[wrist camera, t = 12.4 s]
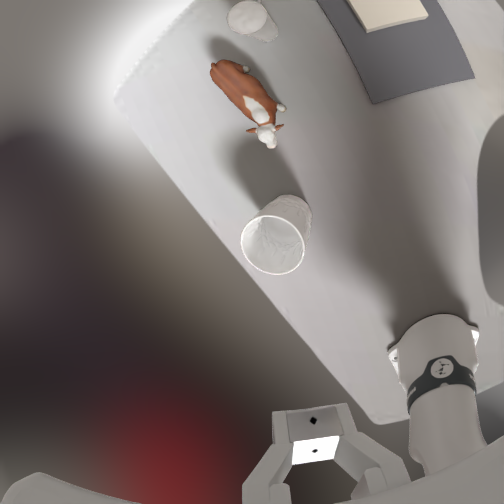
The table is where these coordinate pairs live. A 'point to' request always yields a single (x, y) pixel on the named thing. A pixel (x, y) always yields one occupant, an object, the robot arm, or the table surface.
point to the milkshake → (252, 21)
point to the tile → (387, 12)
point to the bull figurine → (248, 98)
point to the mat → (401, 51)
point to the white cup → (277, 235)
